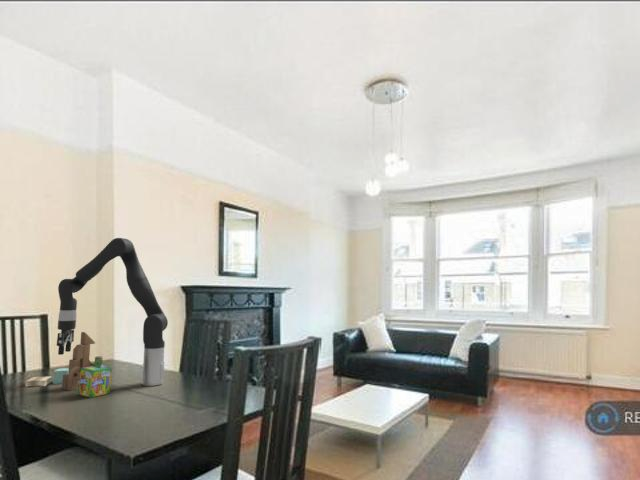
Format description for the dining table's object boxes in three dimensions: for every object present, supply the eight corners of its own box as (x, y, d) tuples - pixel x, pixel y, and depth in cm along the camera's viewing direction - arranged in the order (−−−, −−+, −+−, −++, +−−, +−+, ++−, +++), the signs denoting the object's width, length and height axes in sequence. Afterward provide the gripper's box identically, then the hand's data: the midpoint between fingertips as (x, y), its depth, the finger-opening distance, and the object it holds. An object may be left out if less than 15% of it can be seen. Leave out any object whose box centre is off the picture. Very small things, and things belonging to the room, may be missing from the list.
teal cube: (71, 380, 202) (72, 368, 203) (66, 383, 196) (67, 370, 197) (58, 381, 201) (59, 368, 202) (52, 384, 195) (54, 371, 196)
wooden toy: (70, 391, 183) (75, 334, 185) (61, 389, 186) (65, 333, 188) (102, 383, 197) (105, 330, 199) (93, 382, 200) (96, 330, 202)
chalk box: (77, 395, 177) (80, 360, 178) (98, 390, 185) (100, 357, 186) (90, 398, 172) (93, 362, 174) (110, 393, 180) (113, 359, 182)
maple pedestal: (51, 382, 199) (52, 376, 199) (44, 386, 191) (45, 380, 191) (33, 383, 197) (33, 377, 197) (25, 387, 189) (25, 380, 189)
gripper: (70, 320, 195) (67, 355, 194) (80, 318, 209) (78, 350, 208) (52, 320, 194) (49, 355, 192) (64, 318, 208) (61, 350, 206)
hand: (64, 352), depth 200 cm, fingers open, 8 cm apart
